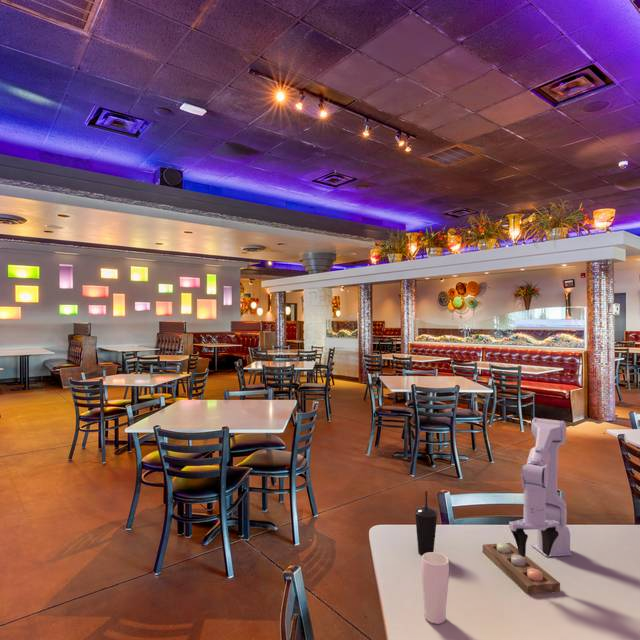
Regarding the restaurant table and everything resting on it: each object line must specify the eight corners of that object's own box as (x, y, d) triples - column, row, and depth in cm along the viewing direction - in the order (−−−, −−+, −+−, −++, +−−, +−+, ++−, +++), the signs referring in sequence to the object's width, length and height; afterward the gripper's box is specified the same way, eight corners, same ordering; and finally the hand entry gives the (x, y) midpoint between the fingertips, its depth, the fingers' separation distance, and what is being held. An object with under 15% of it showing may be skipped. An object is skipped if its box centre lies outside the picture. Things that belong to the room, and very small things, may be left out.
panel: (510, 550, 149) (510, 542, 149) (560, 592, 125) (560, 582, 125) (482, 552, 147) (482, 544, 147) (527, 594, 123) (527, 585, 124)
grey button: (520, 562, 138) (520, 554, 139) (528, 569, 135) (528, 560, 135) (508, 563, 138) (508, 555, 138) (516, 570, 134) (516, 561, 134)
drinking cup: (422, 545, 151) (422, 485, 152) (442, 553, 146) (442, 491, 147) (409, 552, 146) (409, 491, 147) (429, 561, 141) (430, 497, 141)
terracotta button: (536, 576, 131) (536, 567, 131) (545, 584, 127) (545, 575, 127) (524, 577, 130) (524, 568, 130) (532, 585, 126) (533, 576, 126)
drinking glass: (417, 610, 116) (418, 552, 116) (442, 609, 116) (443, 551, 117) (425, 627, 109) (426, 565, 109) (452, 626, 110) (453, 564, 110)
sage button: (505, 550, 146) (505, 542, 146) (512, 556, 142) (512, 548, 142) (494, 550, 146) (494, 542, 146) (501, 557, 142) (501, 548, 142)
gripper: (519, 512, 124) (519, 562, 124) (566, 511, 126) (566, 560, 126) (505, 503, 131) (504, 550, 131) (550, 502, 133) (550, 548, 133)
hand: (534, 554), depth 129 cm, fingers open, 7 cm apart
